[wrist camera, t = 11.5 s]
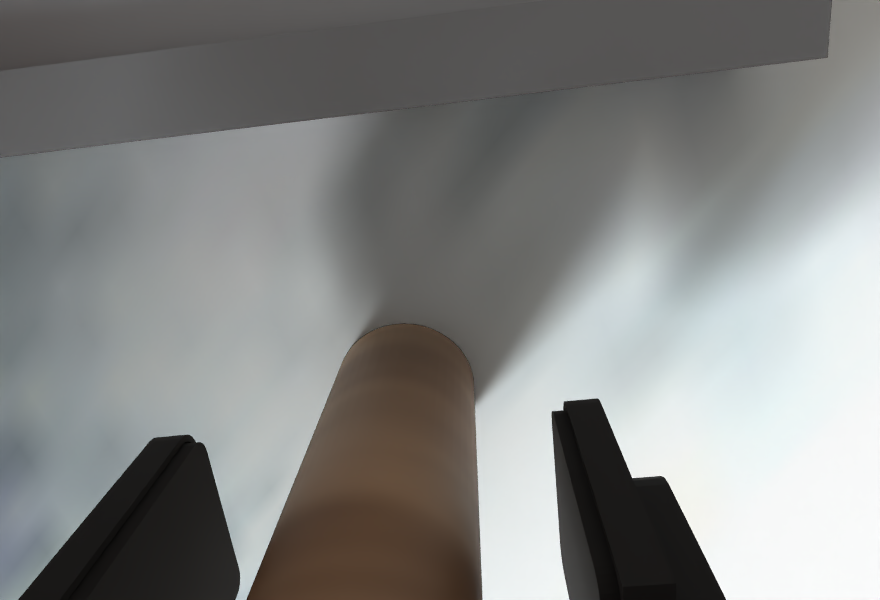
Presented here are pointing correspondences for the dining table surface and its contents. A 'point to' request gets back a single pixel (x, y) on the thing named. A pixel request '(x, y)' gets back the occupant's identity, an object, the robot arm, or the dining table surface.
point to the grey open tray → (350, 57)
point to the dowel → (385, 481)
